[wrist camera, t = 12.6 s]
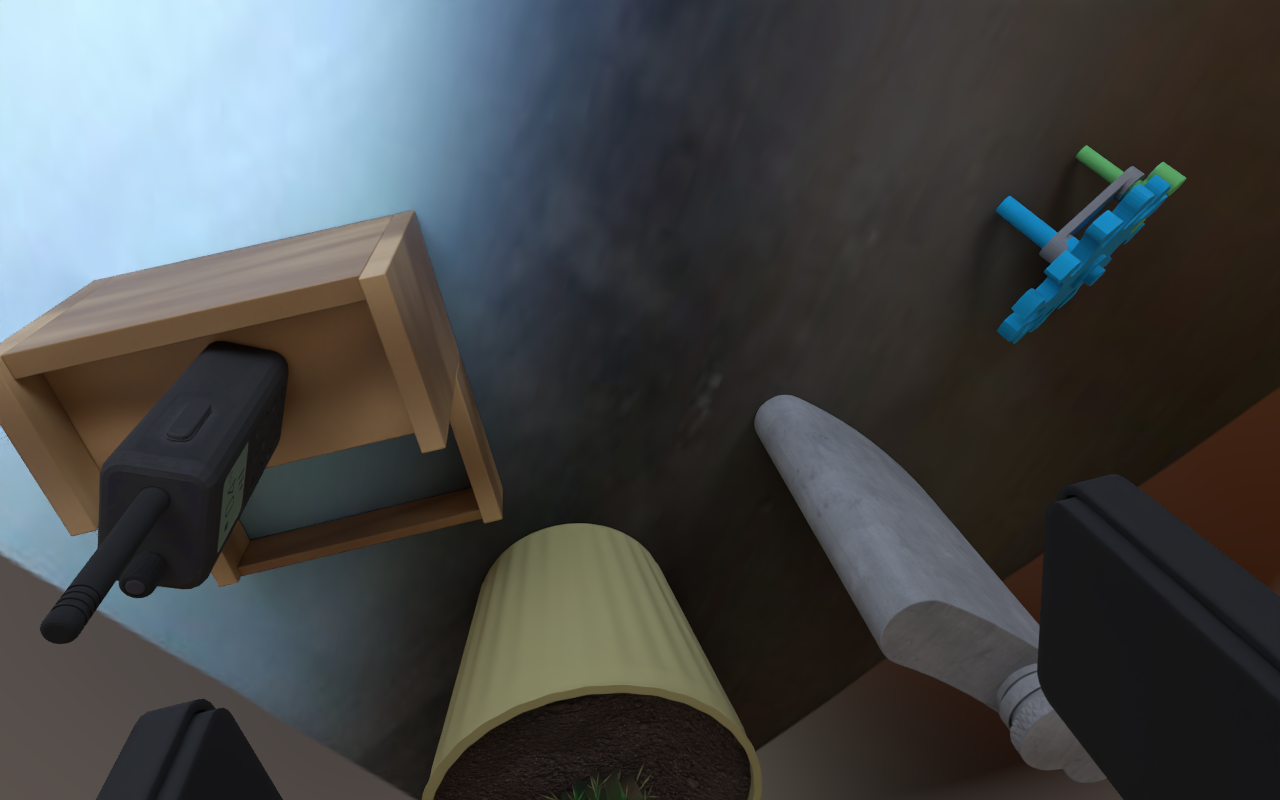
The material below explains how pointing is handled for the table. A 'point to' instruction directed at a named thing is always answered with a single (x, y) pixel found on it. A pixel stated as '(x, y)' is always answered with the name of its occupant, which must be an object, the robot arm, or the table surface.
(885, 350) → the table surface
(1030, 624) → the hip flask
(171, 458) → the walkie-talkie
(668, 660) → the potted cactus
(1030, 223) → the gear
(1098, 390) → the table surface
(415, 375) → the step shelf
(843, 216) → the table surface
